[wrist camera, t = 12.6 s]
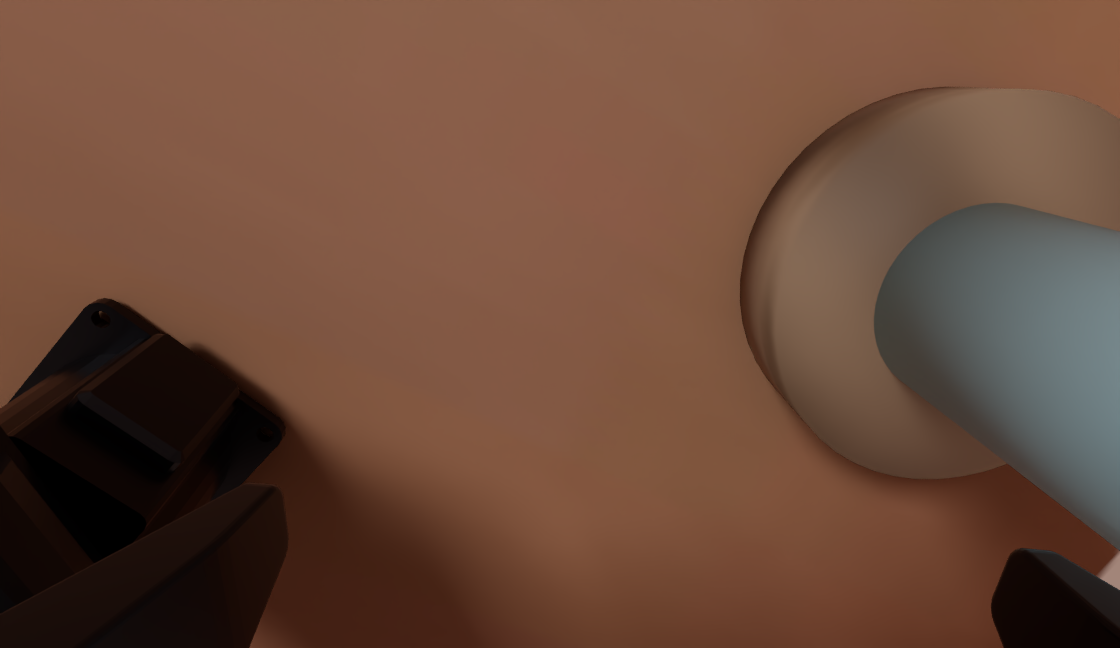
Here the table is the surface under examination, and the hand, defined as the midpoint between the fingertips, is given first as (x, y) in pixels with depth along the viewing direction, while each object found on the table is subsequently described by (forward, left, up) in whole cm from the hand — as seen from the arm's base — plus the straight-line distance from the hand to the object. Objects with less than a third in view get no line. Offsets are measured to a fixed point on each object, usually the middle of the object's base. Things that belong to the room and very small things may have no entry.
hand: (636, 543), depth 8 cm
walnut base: (+7, -8, -13) cm, 17 cm away
